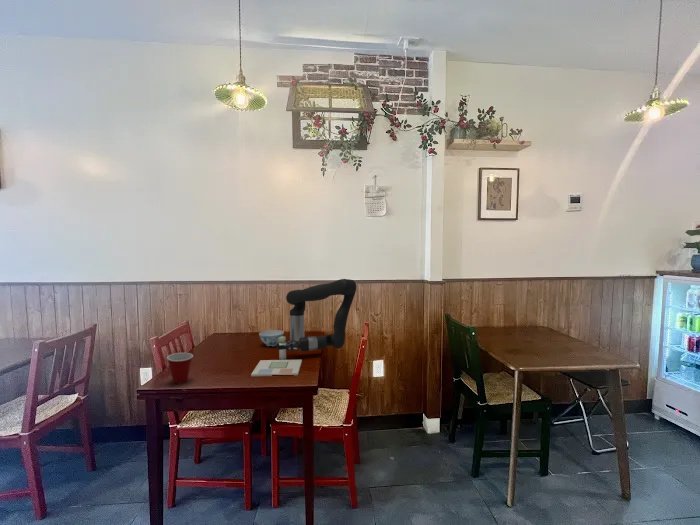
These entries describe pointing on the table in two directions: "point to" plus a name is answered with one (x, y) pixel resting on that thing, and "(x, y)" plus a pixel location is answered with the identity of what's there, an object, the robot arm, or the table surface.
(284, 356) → the marker
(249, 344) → the table surface
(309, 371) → the table surface
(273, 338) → the chinaware
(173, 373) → the plastic cup
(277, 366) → the picture board
